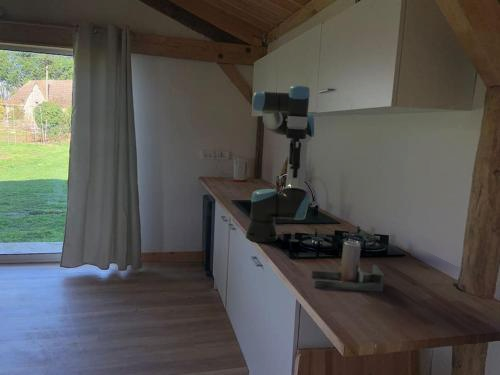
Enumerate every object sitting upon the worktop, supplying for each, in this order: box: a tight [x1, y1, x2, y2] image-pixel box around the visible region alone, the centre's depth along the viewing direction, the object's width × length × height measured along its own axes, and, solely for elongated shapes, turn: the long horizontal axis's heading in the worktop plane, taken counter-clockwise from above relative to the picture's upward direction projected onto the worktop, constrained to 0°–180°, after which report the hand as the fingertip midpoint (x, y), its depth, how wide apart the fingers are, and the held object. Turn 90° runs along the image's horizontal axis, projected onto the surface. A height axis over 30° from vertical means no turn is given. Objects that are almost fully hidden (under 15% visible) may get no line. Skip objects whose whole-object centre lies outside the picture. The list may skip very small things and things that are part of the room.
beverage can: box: [339, 240, 362, 282], centre depth 141 cm, size 6×6×15 cm
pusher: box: [357, 268, 369, 283], centre depth 141 cm, size 7×3×5 cm, turn 179°
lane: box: [310, 264, 386, 293], centre depth 141 cm, size 10×23×6 cm, turn 89°
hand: (292, 183), depth 155 cm, fingers open, 13 cm apart
